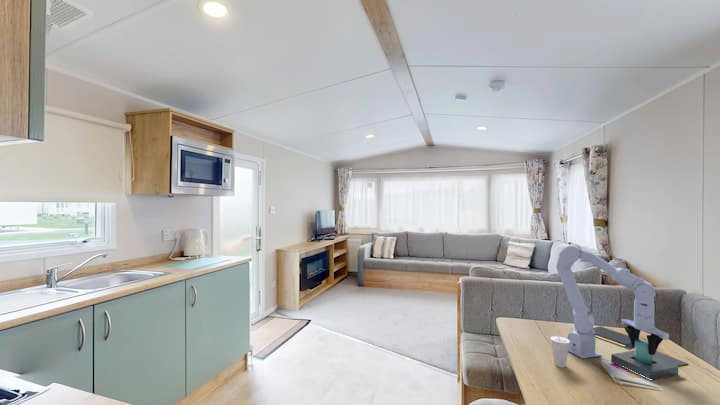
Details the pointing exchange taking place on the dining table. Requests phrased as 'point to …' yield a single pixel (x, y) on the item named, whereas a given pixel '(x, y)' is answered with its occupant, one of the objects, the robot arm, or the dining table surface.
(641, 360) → the end cap
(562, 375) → the dining table surface
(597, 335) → the grey book
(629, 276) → the robot arm
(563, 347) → the smoothie
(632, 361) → the housing
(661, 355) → the mat
